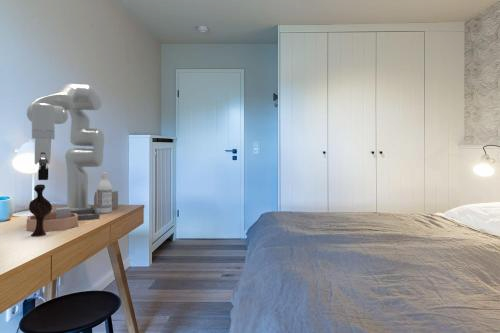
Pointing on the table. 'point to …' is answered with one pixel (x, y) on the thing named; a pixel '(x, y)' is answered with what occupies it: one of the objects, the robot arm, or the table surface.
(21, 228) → the table surface
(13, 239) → the table surface
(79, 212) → the tray
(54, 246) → the table surface
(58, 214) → the grey sharp-edged cuboid
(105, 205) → the bath foam
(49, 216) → the greyish beige block
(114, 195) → the fossil
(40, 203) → the figurine
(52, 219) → the bowl
